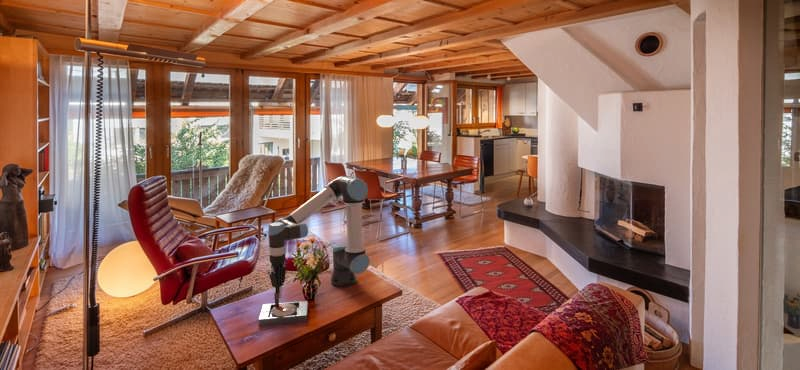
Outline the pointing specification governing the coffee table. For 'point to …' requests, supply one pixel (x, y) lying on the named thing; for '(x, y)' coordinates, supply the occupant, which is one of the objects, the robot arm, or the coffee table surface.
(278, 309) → the dial
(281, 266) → the robot arm
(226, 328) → the coffee table surface
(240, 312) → the coffee table surface
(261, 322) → the dial housing
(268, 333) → the coffee table surface
